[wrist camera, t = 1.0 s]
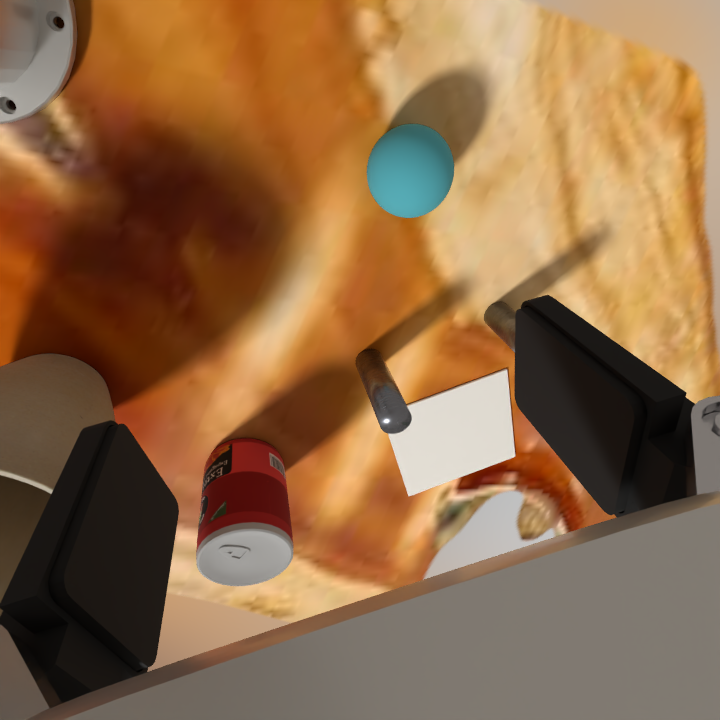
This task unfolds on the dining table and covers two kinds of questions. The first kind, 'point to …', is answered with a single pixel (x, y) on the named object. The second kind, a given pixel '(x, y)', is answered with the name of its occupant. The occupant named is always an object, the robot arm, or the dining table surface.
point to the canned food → (244, 515)
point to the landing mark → (456, 433)
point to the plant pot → (40, 440)
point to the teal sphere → (410, 170)
